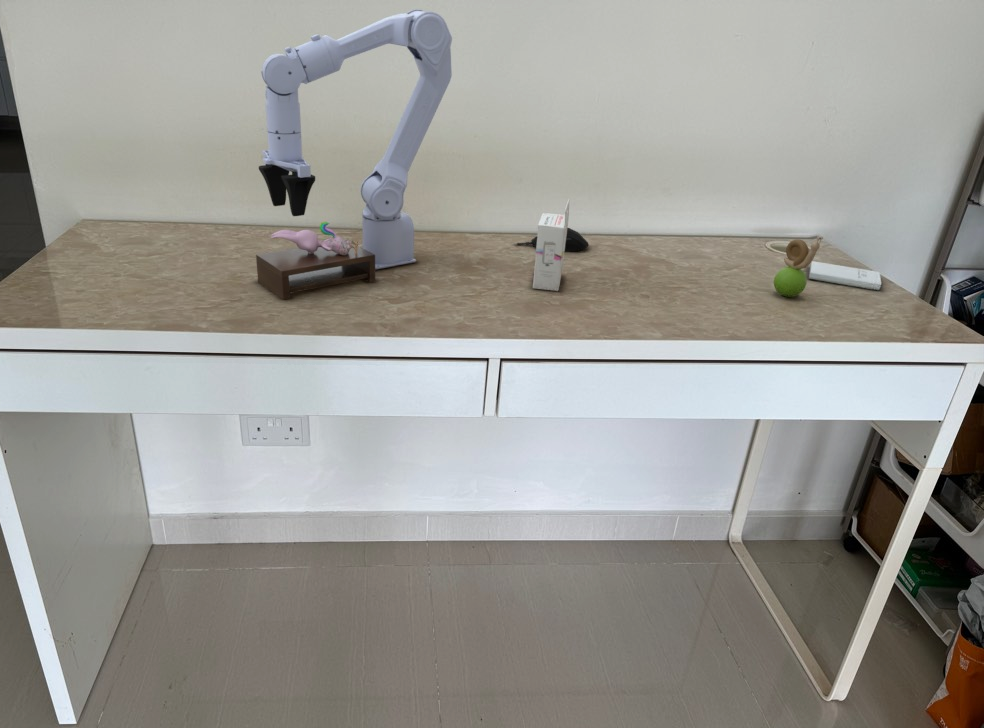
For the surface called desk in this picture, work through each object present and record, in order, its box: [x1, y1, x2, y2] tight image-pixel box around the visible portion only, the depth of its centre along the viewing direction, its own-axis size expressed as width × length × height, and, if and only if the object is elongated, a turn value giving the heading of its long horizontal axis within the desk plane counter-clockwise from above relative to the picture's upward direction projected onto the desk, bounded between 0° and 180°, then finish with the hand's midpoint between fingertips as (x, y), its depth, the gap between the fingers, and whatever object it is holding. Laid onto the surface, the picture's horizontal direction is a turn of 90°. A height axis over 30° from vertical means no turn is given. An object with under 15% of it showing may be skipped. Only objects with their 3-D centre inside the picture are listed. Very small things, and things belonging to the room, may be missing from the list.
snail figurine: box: [773, 236, 824, 298], centre depth 137 cm, size 5×6×12 cm
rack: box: [255, 239, 376, 301], centre depth 135 cm, size 18×10×5 cm, turn 126°
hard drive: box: [808, 260, 882, 291], centre depth 150 cm, size 2×8×12 cm
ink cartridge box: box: [532, 198, 570, 292], centre depth 138 cm, size 9×5×15 cm, turn 168°
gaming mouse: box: [517, 227, 590, 252], centre depth 160 cm, size 6×15×4 cm, turn 89°
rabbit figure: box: [270, 221, 359, 256], centre depth 134 cm, size 6×6×15 cm
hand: (288, 210), depth 139 cm, fingers open, 7 cm apart
